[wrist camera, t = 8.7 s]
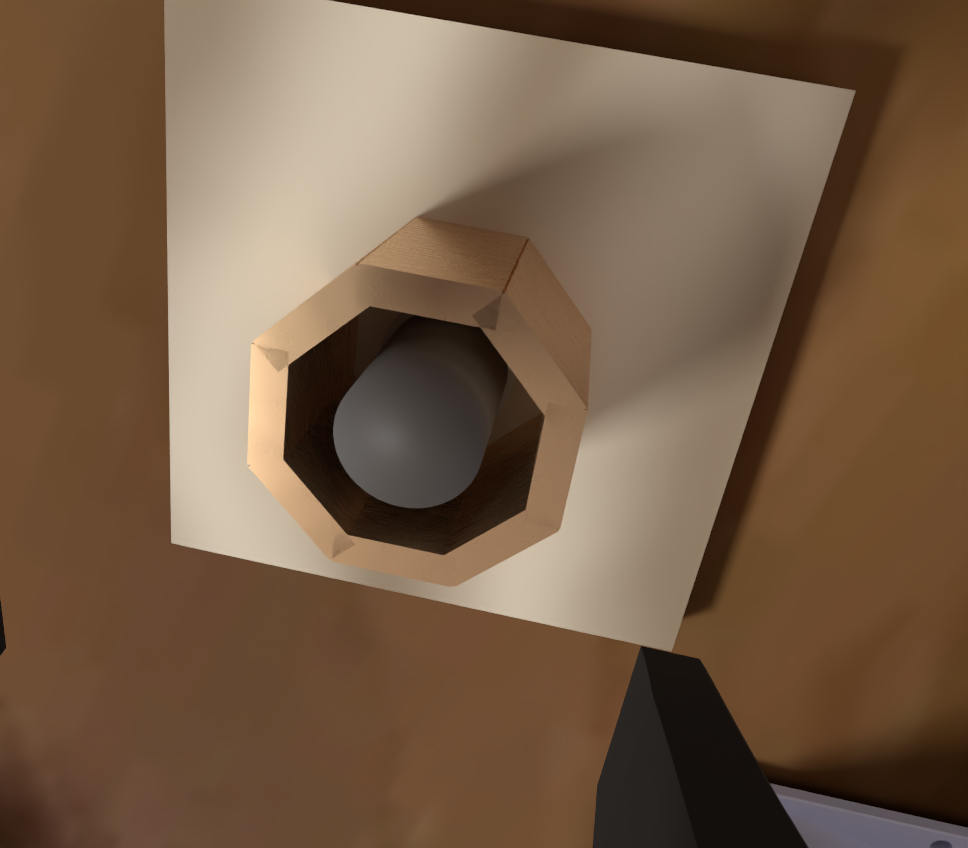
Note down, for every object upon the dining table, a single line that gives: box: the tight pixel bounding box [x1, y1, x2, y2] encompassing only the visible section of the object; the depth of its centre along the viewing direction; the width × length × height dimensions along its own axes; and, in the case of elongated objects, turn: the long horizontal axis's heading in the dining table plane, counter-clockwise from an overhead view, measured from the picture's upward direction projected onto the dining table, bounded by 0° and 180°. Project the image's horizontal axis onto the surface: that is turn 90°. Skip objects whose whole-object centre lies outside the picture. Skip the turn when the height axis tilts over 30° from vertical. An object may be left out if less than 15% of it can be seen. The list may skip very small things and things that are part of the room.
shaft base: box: [164, 0, 856, 651], centre depth 15 cm, size 12×12×5 cm
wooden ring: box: [247, 217, 592, 587], centre depth 14 cm, size 5×5×4 cm
